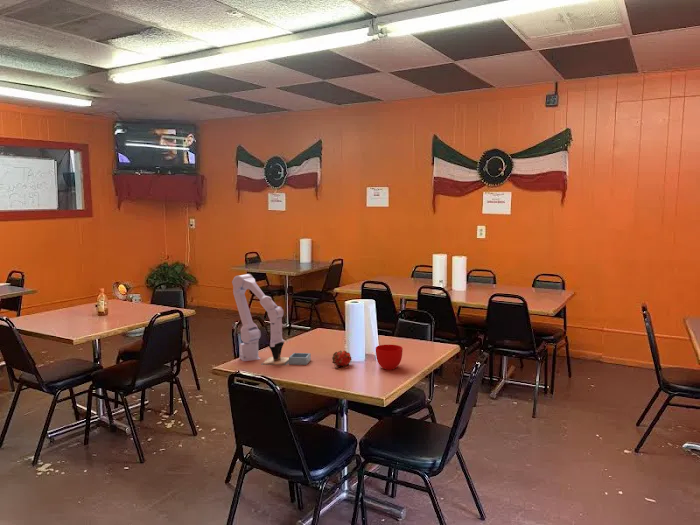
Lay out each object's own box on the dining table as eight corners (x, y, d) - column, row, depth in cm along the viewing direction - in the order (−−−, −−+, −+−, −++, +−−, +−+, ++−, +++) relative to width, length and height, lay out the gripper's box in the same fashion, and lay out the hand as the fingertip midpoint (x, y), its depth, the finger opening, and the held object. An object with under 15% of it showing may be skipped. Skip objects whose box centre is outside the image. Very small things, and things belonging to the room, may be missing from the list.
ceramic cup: (410, 364, 269) (410, 344, 268) (395, 373, 254) (395, 352, 253) (386, 361, 275) (386, 341, 274) (370, 369, 261) (370, 349, 260)
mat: (260, 365, 270) (260, 364, 270) (268, 358, 283) (268, 357, 283) (286, 366, 268) (285, 365, 268) (292, 359, 281) (292, 358, 281)
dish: (288, 365, 270) (288, 357, 269) (293, 360, 279) (293, 352, 278) (306, 365, 268) (306, 357, 268) (310, 361, 277) (310, 353, 277)
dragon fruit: (331, 371, 264) (348, 370, 272) (341, 363, 259) (359, 362, 267) (325, 355, 267) (343, 354, 276) (336, 347, 262) (353, 347, 271)
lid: (263, 364, 271) (262, 356, 270) (269, 358, 282) (269, 351, 281) (284, 364, 269) (284, 357, 269) (290, 358, 280) (290, 351, 280)
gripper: (279, 334, 266) (280, 361, 267) (287, 328, 280) (288, 354, 282) (266, 334, 267) (266, 361, 268) (274, 328, 282) (275, 353, 283)
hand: (276, 357), depth 275 cm, fingers closed on lid, 4 cm apart
